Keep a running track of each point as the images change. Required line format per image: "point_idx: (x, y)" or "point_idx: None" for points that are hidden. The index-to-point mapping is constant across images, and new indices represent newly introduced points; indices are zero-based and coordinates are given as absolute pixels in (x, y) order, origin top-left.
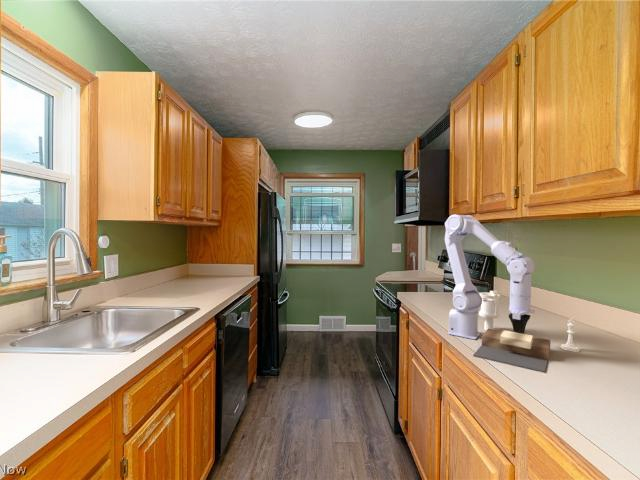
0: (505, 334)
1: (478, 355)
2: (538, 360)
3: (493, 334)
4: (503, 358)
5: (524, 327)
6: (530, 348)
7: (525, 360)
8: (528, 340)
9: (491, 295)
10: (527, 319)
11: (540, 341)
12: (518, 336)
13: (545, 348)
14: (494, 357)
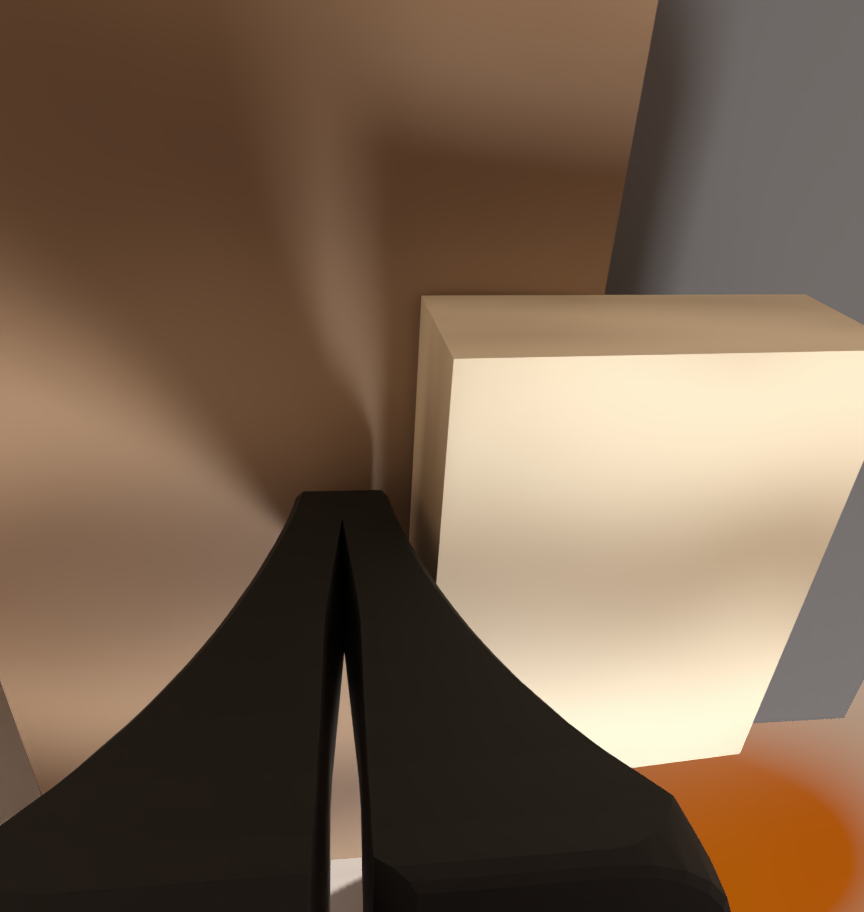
0: (635, 729)
1: (845, 686)
2: (755, 123)
3: (344, 787)
4: (853, 509)
5: (479, 640)
6: (804, 297)
7: (830, 293)
8: (832, 396)
9: None
10: (710, 863)
11: (167, 146)
12: (653, 573)
13: (654, 17)
14: (853, 579)
